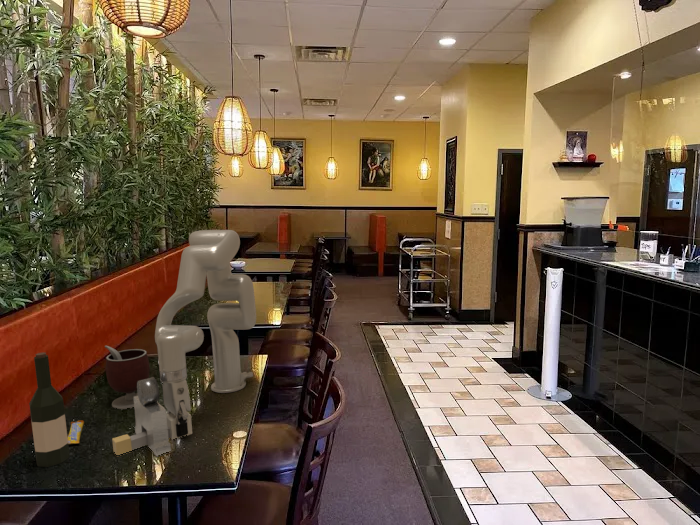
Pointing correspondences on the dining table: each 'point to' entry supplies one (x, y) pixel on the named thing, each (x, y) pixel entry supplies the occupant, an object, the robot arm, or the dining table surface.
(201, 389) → the dining table surface
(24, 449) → the dining table surface
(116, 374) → the mate gourd
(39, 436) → the wine bottle
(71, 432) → the candy bar
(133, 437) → the plug
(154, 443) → the bulkhead
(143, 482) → the dining table surface
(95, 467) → the dining table surface
